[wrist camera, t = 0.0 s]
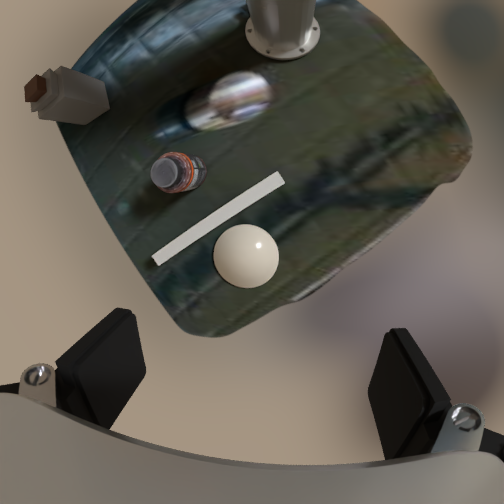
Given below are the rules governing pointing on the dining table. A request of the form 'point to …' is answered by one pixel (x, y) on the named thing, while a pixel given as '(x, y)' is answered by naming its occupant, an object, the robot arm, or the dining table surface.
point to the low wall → (219, 217)
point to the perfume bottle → (67, 96)
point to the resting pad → (246, 256)
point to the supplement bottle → (178, 172)
